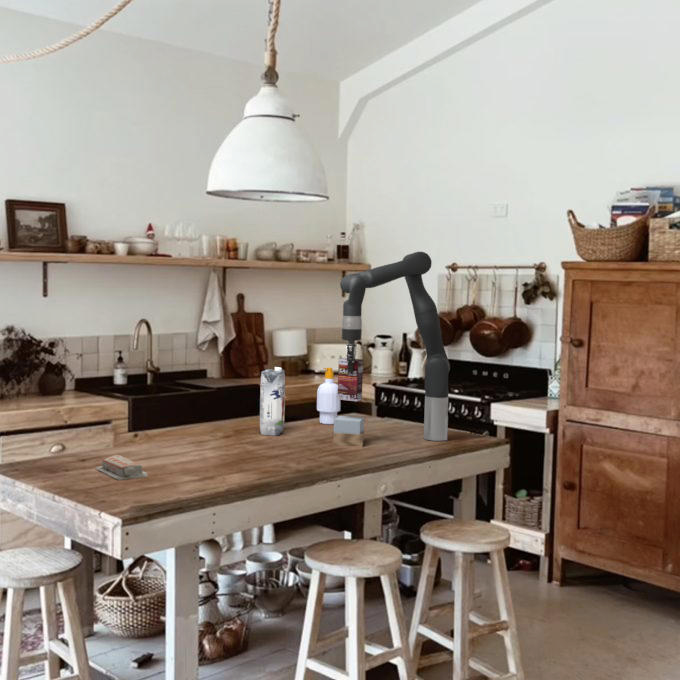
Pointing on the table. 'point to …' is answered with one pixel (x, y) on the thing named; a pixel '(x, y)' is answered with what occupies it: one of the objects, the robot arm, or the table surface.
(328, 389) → the soap bottle
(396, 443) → the table surface
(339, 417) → the pale gray block
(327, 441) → the table surface
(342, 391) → the supplement box
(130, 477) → the packaged product
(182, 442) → the table surface
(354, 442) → the walnut block
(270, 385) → the juice carton
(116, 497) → the table surface
